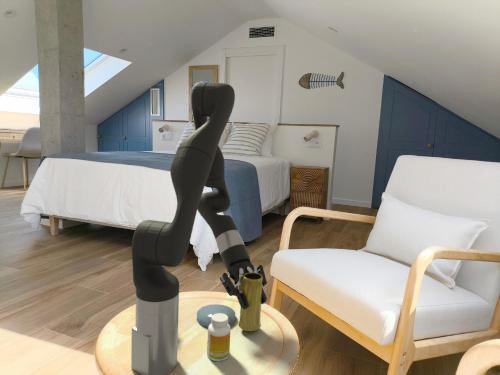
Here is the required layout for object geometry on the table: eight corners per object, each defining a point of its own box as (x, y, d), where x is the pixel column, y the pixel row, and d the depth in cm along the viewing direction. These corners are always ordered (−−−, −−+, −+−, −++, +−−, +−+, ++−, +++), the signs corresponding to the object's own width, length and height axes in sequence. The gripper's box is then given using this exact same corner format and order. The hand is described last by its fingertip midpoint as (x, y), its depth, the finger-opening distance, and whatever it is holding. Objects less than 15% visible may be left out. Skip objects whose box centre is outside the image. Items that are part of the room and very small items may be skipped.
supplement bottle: (233, 357, 84) (235, 319, 82) (213, 364, 81) (214, 325, 79) (222, 345, 88) (224, 309, 87) (203, 351, 85) (204, 314, 84)
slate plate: (216, 333, 93) (217, 328, 93) (188, 318, 100) (188, 313, 100) (242, 317, 102) (242, 313, 102) (215, 305, 109) (215, 300, 108)
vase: (261, 321, 99) (264, 272, 97) (259, 332, 92) (263, 281, 90) (239, 318, 99) (242, 270, 97) (237, 330, 93) (240, 279, 91)
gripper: (216, 246, 94) (240, 307, 87) (258, 239, 103) (282, 294, 95) (205, 259, 99) (227, 317, 92) (246, 252, 108) (268, 304, 100)
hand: (255, 305), depth 93 cm, fingers closed on vase, 5 cm apart
